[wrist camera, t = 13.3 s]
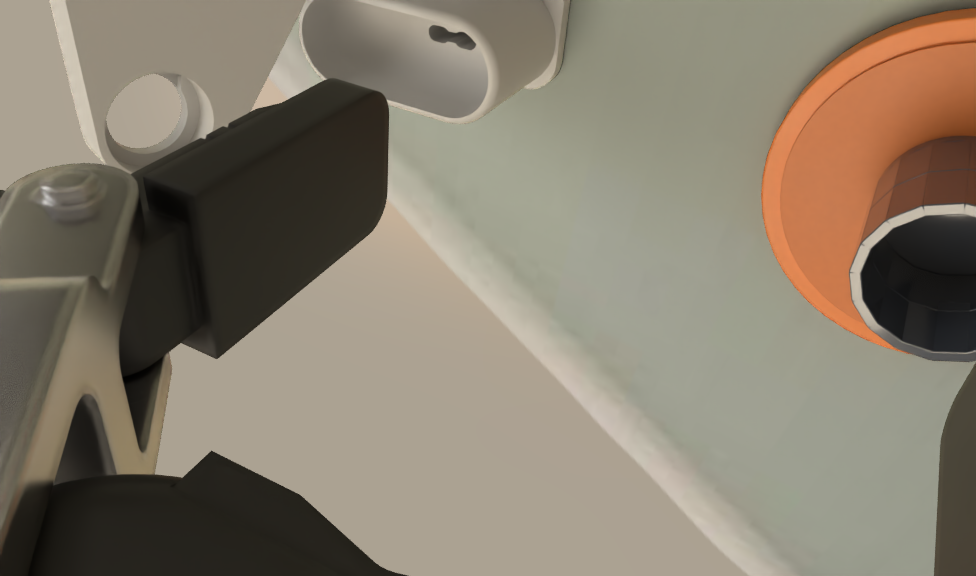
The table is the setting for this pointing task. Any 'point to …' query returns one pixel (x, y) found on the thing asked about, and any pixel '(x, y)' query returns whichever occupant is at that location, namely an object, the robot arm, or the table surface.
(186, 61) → the phone holder
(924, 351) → the grey plastic cup
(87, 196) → the robot arm
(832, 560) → the table surface
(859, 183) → the orange lid
